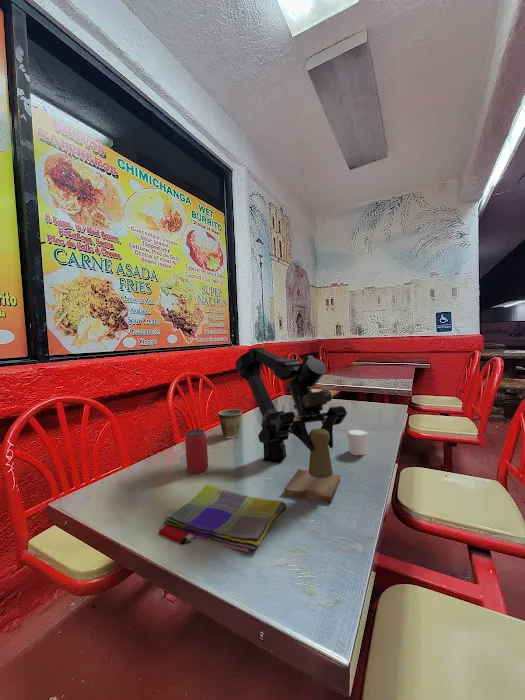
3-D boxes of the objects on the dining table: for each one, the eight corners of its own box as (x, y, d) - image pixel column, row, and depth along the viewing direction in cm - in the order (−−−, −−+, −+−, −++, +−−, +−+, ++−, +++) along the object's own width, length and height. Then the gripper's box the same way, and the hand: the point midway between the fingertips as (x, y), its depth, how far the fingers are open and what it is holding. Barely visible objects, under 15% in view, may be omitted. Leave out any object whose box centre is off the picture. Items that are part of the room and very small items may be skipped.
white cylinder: (346, 455, 101) (345, 434, 100) (348, 447, 107) (348, 428, 107) (368, 457, 98) (367, 436, 98) (369, 449, 104) (368, 429, 104)
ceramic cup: (242, 439, 121) (241, 414, 121) (217, 440, 122) (216, 415, 121) (244, 429, 134) (243, 407, 134) (222, 430, 134) (221, 408, 134)
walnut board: (284, 494, 78) (284, 488, 77) (298, 474, 88) (298, 469, 88) (331, 503, 73) (330, 497, 72) (340, 480, 83) (340, 475, 83)
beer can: (212, 468, 95) (210, 431, 95) (194, 476, 90) (192, 436, 90) (200, 463, 100) (198, 427, 99) (182, 470, 95) (180, 432, 94)
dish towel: (208, 490, 83) (208, 480, 83) (291, 509, 72) (290, 498, 71) (160, 527, 67) (159, 515, 67) (256, 559, 56) (255, 545, 56)
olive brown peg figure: (333, 478, 73) (331, 434, 72) (307, 477, 74) (306, 433, 73) (332, 467, 79) (331, 426, 78) (309, 466, 80) (307, 425, 79)
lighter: (168, 523, 66) (195, 534, 62) (169, 529, 66) (195, 540, 62) (158, 530, 64) (185, 542, 60) (158, 536, 64) (185, 548, 60)
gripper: (276, 382, 76) (294, 438, 66) (342, 376, 81) (368, 428, 71) (269, 406, 84) (284, 459, 74) (329, 399, 89) (350, 449, 79)
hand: (322, 448), depth 75 cm, fingers closed on olive brown peg figure, 5 cm apart
